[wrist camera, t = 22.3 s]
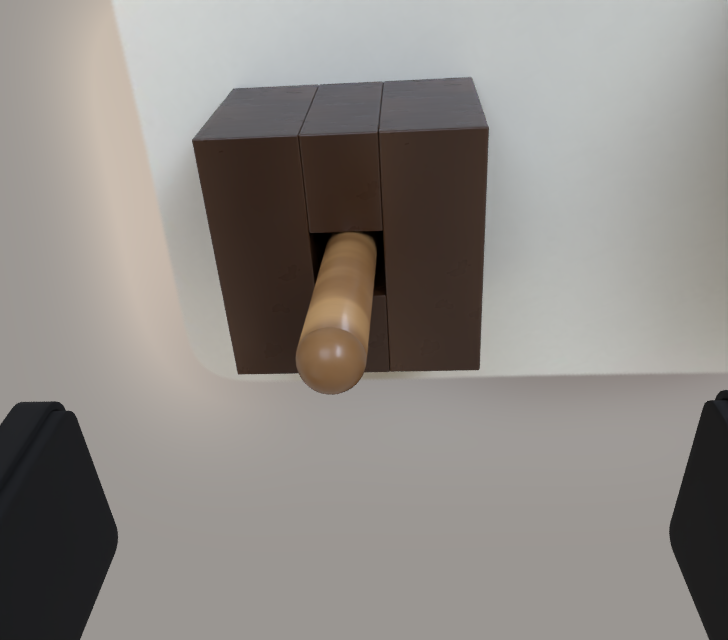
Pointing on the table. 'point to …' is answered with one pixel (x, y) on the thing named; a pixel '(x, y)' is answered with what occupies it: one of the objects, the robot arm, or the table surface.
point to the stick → (339, 314)
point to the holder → (350, 214)
